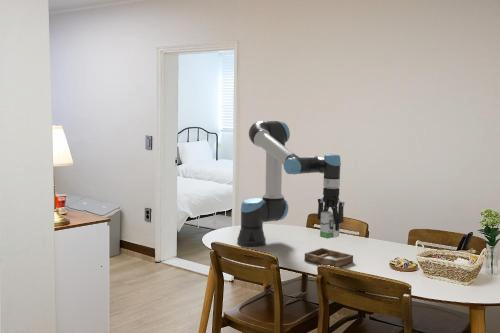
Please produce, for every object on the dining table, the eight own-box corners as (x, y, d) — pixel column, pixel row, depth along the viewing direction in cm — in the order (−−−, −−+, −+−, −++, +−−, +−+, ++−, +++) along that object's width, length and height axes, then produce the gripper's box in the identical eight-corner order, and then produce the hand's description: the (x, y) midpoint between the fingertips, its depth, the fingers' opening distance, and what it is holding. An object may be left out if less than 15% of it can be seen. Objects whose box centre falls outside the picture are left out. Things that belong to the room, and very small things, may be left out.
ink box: (327, 238, 244) (327, 213, 243) (319, 236, 248) (320, 212, 246) (339, 236, 249) (340, 211, 248) (332, 234, 253) (332, 210, 252)
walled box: (304, 260, 251) (304, 253, 251) (321, 254, 261) (321, 247, 261) (336, 268, 239) (336, 261, 238) (352, 262, 249) (353, 255, 249)
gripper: (310, 185, 249) (309, 233, 252) (343, 190, 237) (341, 241, 240) (319, 184, 255) (318, 231, 257) (352, 188, 242) (350, 238, 245)
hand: (329, 235), depth 248 cm, fingers closed on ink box, 5 cm apart
